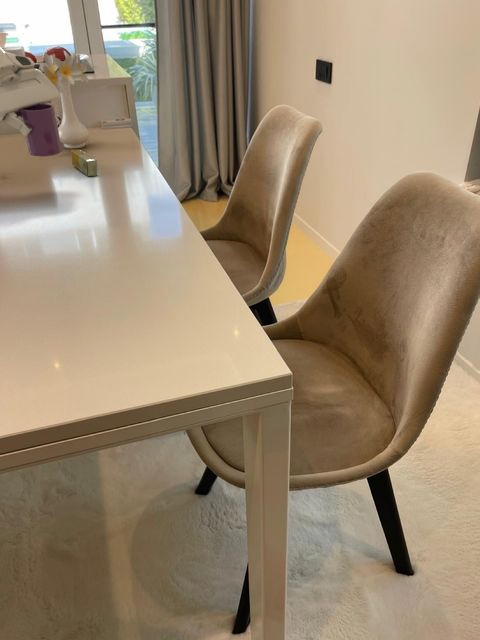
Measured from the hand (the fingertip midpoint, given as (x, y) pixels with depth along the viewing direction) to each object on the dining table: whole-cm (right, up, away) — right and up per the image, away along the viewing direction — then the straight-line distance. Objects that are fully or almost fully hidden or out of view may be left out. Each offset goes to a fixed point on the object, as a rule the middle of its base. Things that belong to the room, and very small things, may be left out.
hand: (43, 128), depth 117 cm
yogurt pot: (-1, -4, +3) cm, 5 cm away
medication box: (-1, +1, +30) cm, 30 cm away
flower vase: (-10, +14, +50) cm, 53 cm away
